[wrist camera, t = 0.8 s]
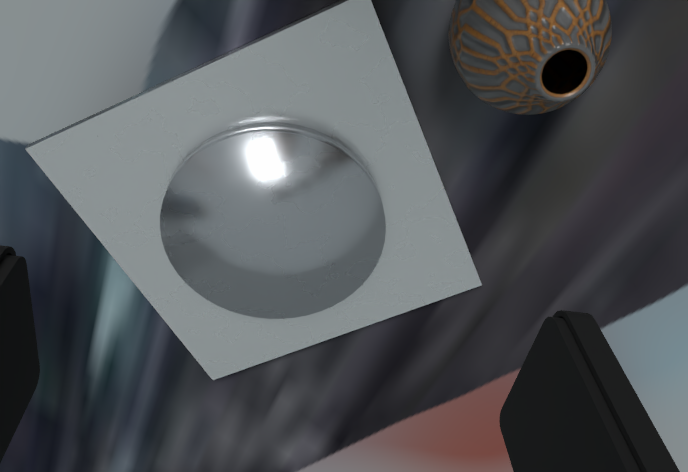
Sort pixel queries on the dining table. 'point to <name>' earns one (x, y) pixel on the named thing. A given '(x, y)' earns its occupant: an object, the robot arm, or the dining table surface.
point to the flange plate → (269, 193)
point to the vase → (529, 50)
